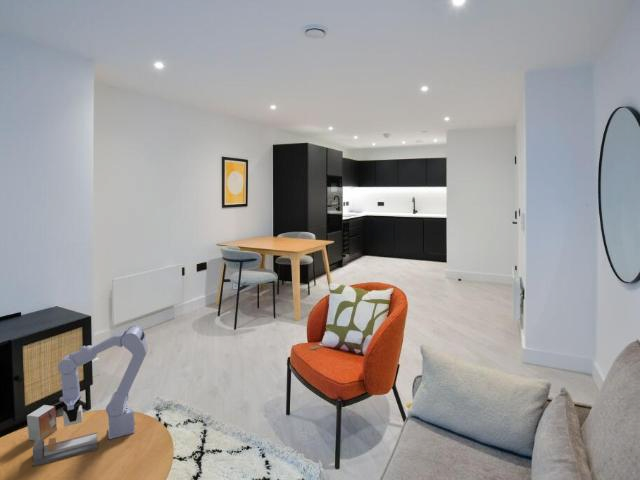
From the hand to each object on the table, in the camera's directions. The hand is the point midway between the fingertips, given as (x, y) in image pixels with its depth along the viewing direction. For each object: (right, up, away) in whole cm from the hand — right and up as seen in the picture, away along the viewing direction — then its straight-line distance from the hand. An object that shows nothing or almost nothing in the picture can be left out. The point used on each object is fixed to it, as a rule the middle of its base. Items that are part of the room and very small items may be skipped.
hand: (73, 417), depth 157 cm
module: (0, -2, 0) cm, 2 cm away
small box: (-14, -8, +2) cm, 16 cm away
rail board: (+1, -9, -6) cm, 11 cm away
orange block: (-2, -7, -9) cm, 12 cm away
